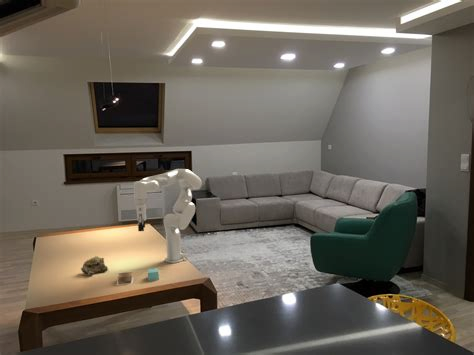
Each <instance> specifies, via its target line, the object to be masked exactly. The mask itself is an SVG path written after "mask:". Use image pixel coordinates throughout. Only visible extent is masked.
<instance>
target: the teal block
mask: <svg viewBox="0 0 474 355" xmlns="http://www.w3.org/2000/svg"><path fill="white" fill-rule="evenodd" d="M159 276H160V274H159V268H158V267H157V268H149V269H147V278H148V280H147V281H158V280H160V277H159Z"/></svg>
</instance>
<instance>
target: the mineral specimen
mask: <svg viewBox="0 0 474 355" xmlns="http://www.w3.org/2000/svg"><path fill="white" fill-rule="evenodd" d="M104 260H105V257H99V256H96V255H95V256H94V257H91V258H89V259H87V260H85V261H84V262H83V265H82V267H81V268H80V270H81V272H82V273H83V274H84V275H85V274H86V275H96V274H101V273H106V272H108V271H109V269H108V268H109V267H108V265H105V261H104Z"/></svg>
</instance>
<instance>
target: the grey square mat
mask: <svg viewBox="0 0 474 355" xmlns="http://www.w3.org/2000/svg"><path fill="white" fill-rule="evenodd" d="M130 284H134V277H132V281H131V283H126V284H125V285H130ZM121 285H124V284H118V280H117V282H116V286H121Z"/></svg>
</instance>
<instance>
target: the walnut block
mask: <svg viewBox="0 0 474 355" xmlns="http://www.w3.org/2000/svg"><path fill="white" fill-rule="evenodd" d="M117 275H118V276H117V281H118V284H123V285H127V284H126V283H131V281H132V278H133V276H132V271H129V272H127V271H126V272H120V273H119V272H118V274H117Z"/></svg>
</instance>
